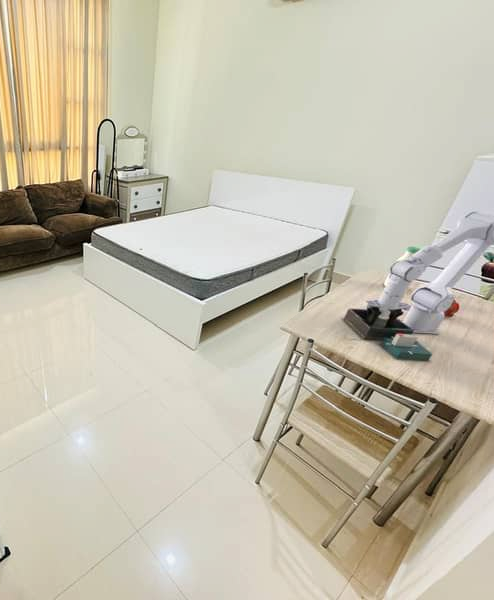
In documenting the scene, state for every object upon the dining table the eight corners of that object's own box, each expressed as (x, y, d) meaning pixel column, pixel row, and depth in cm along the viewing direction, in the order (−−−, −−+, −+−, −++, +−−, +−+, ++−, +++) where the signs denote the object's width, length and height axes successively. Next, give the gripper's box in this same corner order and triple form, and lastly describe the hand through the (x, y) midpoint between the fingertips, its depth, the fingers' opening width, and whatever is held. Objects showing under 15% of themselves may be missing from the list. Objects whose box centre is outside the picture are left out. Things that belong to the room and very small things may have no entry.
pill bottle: (384, 333, 120) (395, 314, 115) (370, 331, 120) (380, 312, 116) (377, 325, 124) (387, 307, 119) (364, 324, 124) (373, 306, 120)
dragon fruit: (432, 322, 130) (434, 315, 138) (463, 318, 124) (463, 311, 131) (424, 302, 131) (427, 297, 138) (455, 297, 124) (456, 292, 132)
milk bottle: (389, 290, 151) (410, 250, 141) (380, 283, 158) (399, 244, 148) (408, 291, 150) (430, 251, 140) (397, 284, 157) (418, 245, 146)
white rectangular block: (408, 344, 110) (414, 334, 108) (411, 346, 109) (418, 336, 107) (391, 342, 111) (397, 333, 109) (394, 345, 109) (400, 335, 107)
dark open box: (382, 321, 128) (388, 310, 125) (406, 342, 116) (414, 330, 113) (343, 319, 129) (348, 308, 126) (363, 339, 117) (370, 327, 115)
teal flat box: (408, 344, 115) (413, 337, 113) (429, 362, 106) (435, 355, 105) (373, 342, 116) (377, 335, 114) (391, 359, 108) (396, 352, 106)
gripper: (407, 289, 117) (389, 319, 124) (365, 286, 118) (350, 317, 125) (422, 298, 111) (402, 330, 118) (377, 296, 112) (361, 327, 119)
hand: (376, 324), depth 121 cm, fingers closed on pill bottle, 5 cm apart
